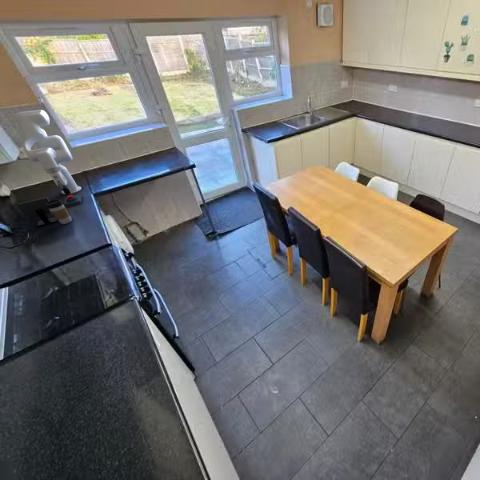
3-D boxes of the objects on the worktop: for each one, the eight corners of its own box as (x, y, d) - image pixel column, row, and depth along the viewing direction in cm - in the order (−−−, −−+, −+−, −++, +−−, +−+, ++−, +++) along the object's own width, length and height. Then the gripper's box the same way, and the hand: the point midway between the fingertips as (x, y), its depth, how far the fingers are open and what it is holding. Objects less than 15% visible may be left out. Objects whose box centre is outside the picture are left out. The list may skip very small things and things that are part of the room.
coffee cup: (65, 225, 176) (51, 205, 166) (55, 224, 177) (40, 204, 168) (77, 218, 182) (64, 199, 173) (67, 217, 184) (53, 198, 174)
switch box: (66, 201, 202) (63, 196, 200) (81, 197, 206) (78, 193, 204) (66, 207, 195) (62, 202, 193) (81, 203, 199) (78, 198, 197)
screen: (29, 216, 174) (18, 203, 168) (56, 210, 180) (46, 196, 174) (28, 218, 173) (17, 204, 166) (56, 211, 179) (46, 197, 173)
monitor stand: (39, 222, 180) (29, 208, 173) (58, 217, 184) (48, 204, 178) (38, 227, 175) (27, 213, 169) (57, 222, 179) (47, 208, 173)
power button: (68, 197, 199) (66, 195, 198) (74, 196, 201) (72, 194, 200) (68, 199, 197) (66, 197, 196) (74, 198, 198) (72, 196, 197)
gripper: (58, 171, 182) (74, 196, 193) (60, 165, 192) (75, 188, 203) (44, 174, 179) (61, 199, 190) (47, 167, 189) (62, 191, 200)
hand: (68, 193), depth 196 cm, fingers closed
